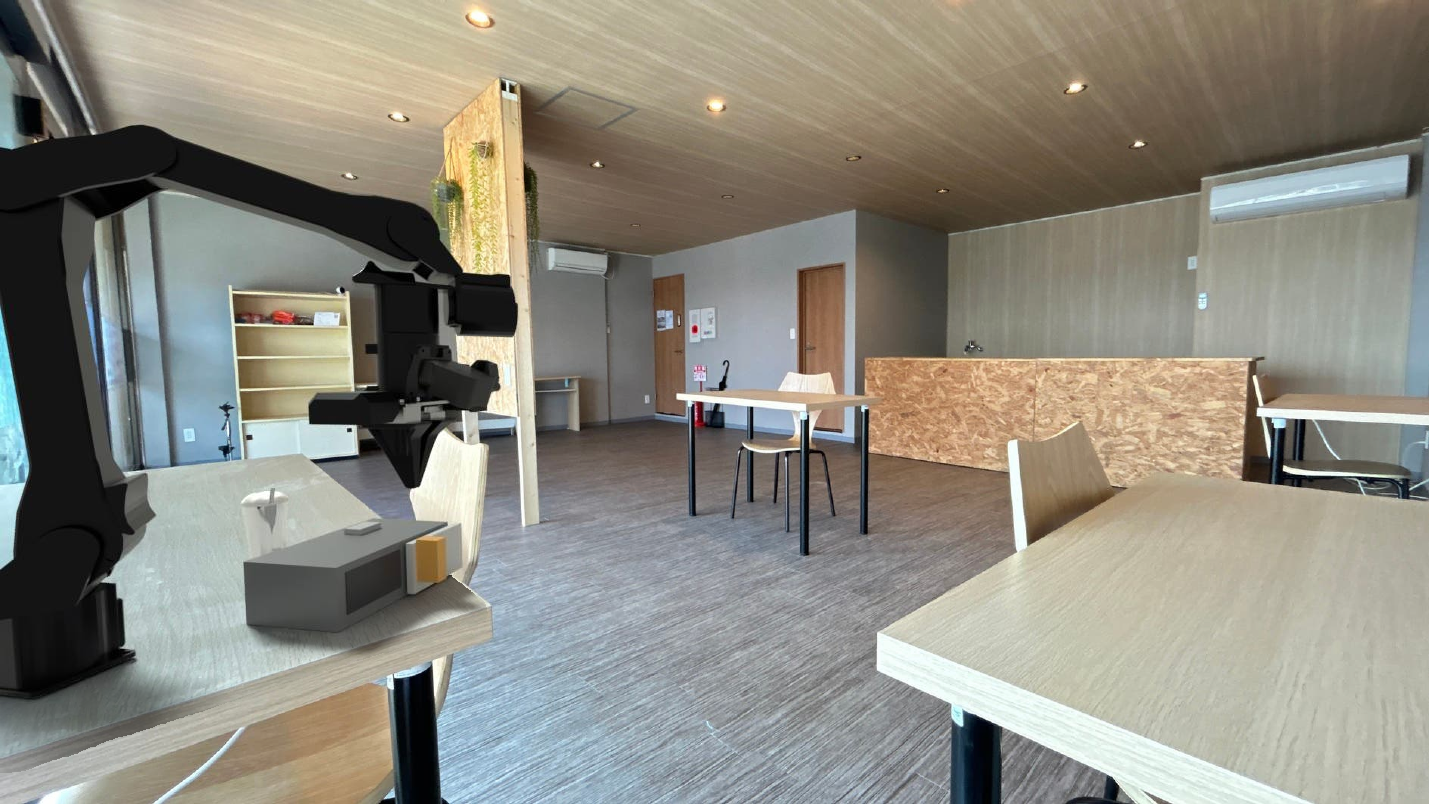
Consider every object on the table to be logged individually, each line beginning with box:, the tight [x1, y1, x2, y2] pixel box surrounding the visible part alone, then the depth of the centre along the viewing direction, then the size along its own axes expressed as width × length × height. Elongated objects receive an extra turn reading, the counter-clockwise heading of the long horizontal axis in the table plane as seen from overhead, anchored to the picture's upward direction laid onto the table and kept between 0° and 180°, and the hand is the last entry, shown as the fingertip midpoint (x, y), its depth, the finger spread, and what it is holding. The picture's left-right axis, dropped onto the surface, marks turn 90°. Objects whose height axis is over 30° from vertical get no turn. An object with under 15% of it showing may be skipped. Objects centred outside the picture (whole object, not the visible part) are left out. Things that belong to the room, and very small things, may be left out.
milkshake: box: [240, 487, 289, 560], centre depth 69 cm, size 4×5×10 cm
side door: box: [406, 522, 463, 595], centre depth 64 cm, size 8×3×6 cm, turn 170°
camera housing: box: [242, 517, 449, 633], centre depth 61 cm, size 17×10×7 cm, turn 170°
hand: (412, 487), depth 58 cm, fingers closed
